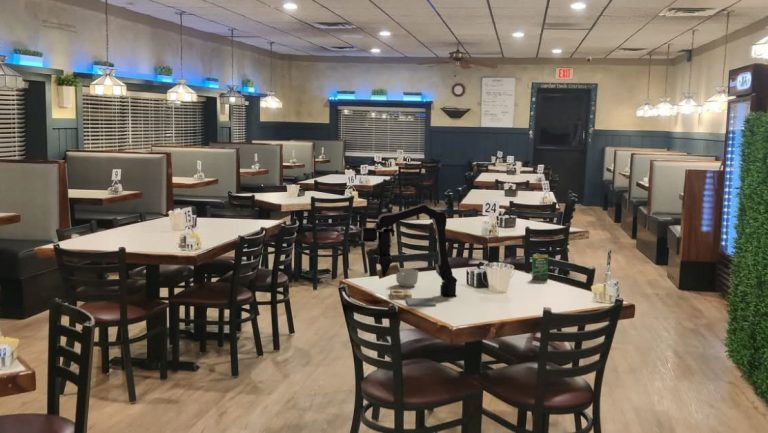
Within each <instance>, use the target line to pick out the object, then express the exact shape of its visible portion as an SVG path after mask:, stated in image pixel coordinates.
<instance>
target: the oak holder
mask: <svg viewBox="0 0 768 433" xmlns="http://www.w3.org/2000/svg"><path fill="white" fill-rule="evenodd" d="M389 294H390V298H391V300H392V299H393V300H396V299H397V300H406V298H413V295H412V292H411V290H410V289H390V290H389Z"/></svg>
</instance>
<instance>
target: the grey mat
mask: <svg viewBox="0 0 768 433" xmlns="http://www.w3.org/2000/svg"><path fill="white" fill-rule="evenodd" d="M405 302H406V304H407V306H408V307H436V306H437V304H436V302H435V301H434V299H433V298H432V297H424V298H423V297H414V298H413V297H412V298H406V299H405Z"/></svg>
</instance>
